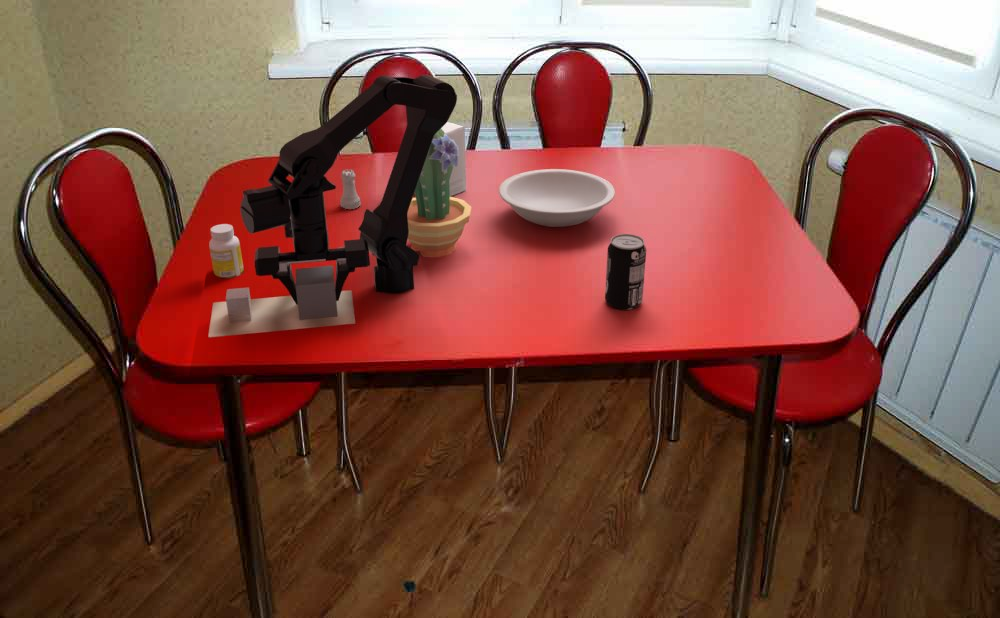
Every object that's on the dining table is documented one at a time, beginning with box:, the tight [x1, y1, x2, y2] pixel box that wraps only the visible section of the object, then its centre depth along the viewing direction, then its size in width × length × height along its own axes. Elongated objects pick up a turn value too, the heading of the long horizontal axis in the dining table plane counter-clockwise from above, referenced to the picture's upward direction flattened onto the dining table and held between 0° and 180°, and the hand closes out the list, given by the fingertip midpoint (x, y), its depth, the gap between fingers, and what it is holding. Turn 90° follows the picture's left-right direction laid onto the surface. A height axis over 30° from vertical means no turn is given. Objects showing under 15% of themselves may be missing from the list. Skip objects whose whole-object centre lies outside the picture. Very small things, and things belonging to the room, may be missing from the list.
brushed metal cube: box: [225, 287, 252, 323], centre depth 163 cm, size 4×4×4 cm
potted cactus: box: [407, 129, 472, 258], centre depth 184 cm, size 15×15×25 cm
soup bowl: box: [498, 168, 616, 228], centre depth 200 cm, size 24×24×7 cm
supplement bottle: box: [208, 223, 245, 279], centre depth 177 cm, size 5×5×10 cm
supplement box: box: [441, 121, 467, 197], centre depth 212 cm, size 9×9×15 cm
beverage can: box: [604, 233, 647, 311], centre depth 167 cm, size 7×7×12 cm
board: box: [208, 290, 356, 338], centre depth 165 cm, size 24×12×1 cm, turn 101°
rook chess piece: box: [339, 169, 362, 210], centre depth 206 cm, size 4×4×8 cm
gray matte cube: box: [294, 265, 338, 320], centre depth 164 cm, size 6×6×7 cm
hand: (317, 301), depth 165 cm, fingers closed on gray matte cube, 6 cm apart
